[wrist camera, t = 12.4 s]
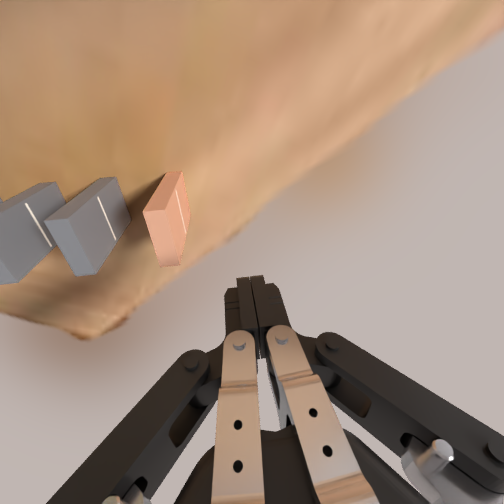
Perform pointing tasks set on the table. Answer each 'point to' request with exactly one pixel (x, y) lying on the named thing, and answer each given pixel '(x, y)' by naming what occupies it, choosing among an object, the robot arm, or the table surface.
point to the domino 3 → (168, 219)
